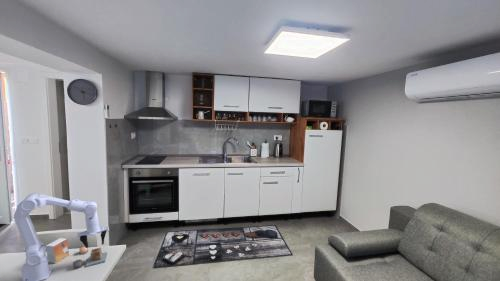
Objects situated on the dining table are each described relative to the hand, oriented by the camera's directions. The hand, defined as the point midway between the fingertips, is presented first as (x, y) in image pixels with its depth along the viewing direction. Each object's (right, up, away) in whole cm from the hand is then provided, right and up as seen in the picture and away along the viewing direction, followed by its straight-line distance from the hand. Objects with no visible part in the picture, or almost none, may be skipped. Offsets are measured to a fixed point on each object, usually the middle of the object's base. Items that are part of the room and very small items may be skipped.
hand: (95, 245), depth 127 cm
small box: (-23, -9, +3) cm, 26 cm away
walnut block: (0, -8, +1) cm, 8 cm away
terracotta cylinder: (-13, -8, +8) cm, 17 cm away
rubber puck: (-7, -10, -4) cm, 13 cm away
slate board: (0, -9, +1) cm, 9 cm away
